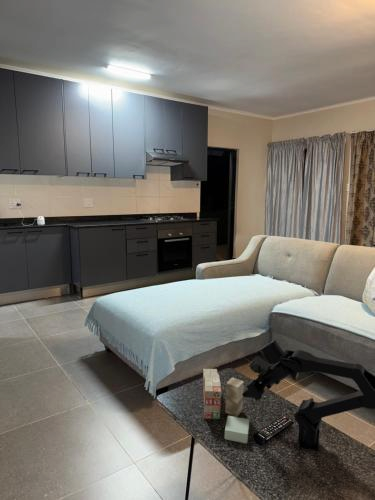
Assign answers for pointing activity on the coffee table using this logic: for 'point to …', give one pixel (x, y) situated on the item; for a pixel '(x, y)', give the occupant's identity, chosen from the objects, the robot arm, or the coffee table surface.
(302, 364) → the robot arm
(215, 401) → the stack of blocks
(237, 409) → the maple pillar
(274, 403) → the coffee table surface
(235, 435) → the sage base block
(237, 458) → the coffee table surface
